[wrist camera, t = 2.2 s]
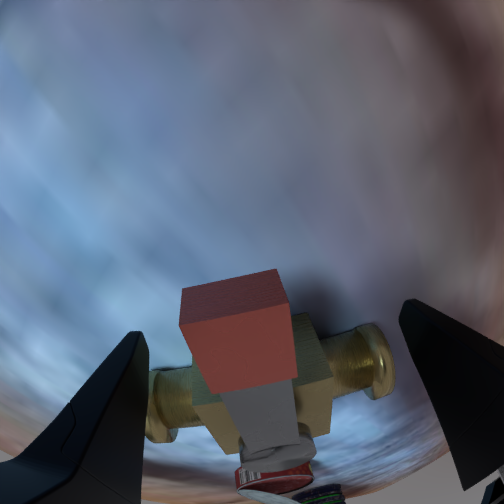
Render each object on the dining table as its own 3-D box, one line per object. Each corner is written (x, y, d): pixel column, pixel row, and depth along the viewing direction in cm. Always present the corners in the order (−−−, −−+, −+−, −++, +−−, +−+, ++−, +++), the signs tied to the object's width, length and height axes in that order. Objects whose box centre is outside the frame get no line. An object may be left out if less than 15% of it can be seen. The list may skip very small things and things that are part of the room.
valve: (360, 364, 21) (387, 421, 16) (171, 404, 21) (170, 466, 16) (367, 296, 18) (410, 360, 13) (133, 346, 17) (119, 421, 12)
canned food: (278, 450, 38) (273, 507, 32) (221, 448, 33) (215, 512, 27) (339, 453, 30) (333, 520, 24) (280, 457, 25) (272, 536, 20)
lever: (310, 441, 15) (316, 463, 14) (245, 455, 15) (248, 477, 14) (296, 264, 9) (312, 297, 7) (163, 292, 9) (157, 329, 7)
